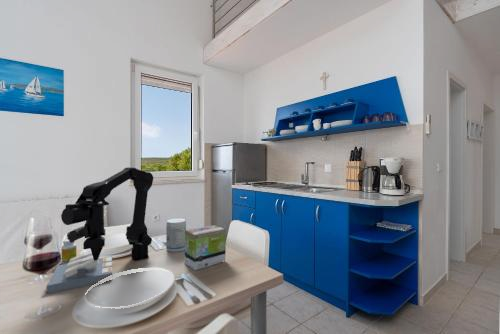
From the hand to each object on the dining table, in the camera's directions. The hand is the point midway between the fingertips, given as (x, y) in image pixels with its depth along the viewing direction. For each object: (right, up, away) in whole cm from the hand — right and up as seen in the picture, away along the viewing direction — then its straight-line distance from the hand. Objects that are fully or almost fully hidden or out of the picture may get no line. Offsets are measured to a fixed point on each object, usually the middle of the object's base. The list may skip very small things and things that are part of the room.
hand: (95, 260), depth 92 cm
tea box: (+38, -7, +15) cm, 42 cm away
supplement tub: (+20, -7, +32) cm, 39 cm away
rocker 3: (-4, -2, -2) cm, 5 cm away
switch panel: (-7, -7, +3) cm, 10 cm away
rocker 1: (-10, -2, +8) cm, 13 cm away
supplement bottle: (-23, -7, +17) cm, 29 cm away
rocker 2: (-7, -2, +3) cm, 7 cm away
